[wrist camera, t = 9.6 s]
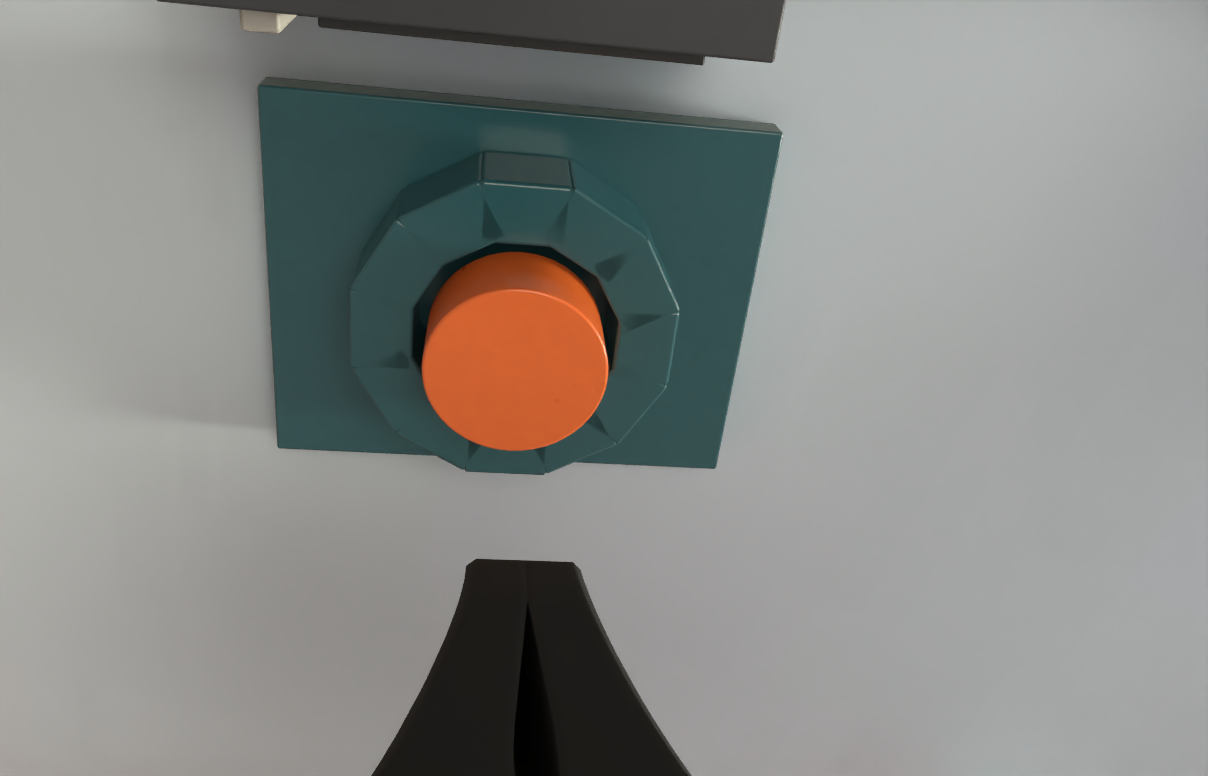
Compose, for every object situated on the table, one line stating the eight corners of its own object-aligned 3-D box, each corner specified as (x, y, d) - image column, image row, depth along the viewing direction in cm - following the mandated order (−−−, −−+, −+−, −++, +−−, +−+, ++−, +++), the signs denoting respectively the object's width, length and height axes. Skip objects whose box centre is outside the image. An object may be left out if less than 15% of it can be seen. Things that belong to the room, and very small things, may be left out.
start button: (610, 257, 19) (618, 296, 18) (591, 409, 21) (598, 456, 19) (430, 243, 19) (423, 282, 17) (425, 400, 20) (419, 447, 19)
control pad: (775, 123, 20) (808, 161, 18) (711, 453, 24) (730, 515, 22) (264, 75, 19) (233, 110, 17) (283, 432, 23) (259, 497, 21)
